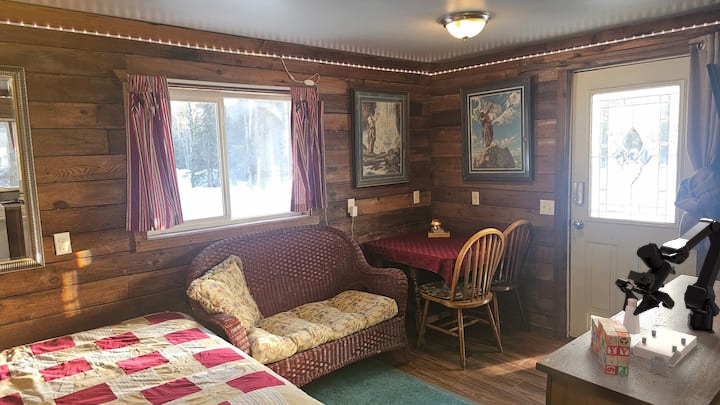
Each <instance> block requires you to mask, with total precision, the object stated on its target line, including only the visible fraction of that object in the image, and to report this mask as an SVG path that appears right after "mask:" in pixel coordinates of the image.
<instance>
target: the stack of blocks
mask: <svg viewBox="0 0 720 405" xmlns="http://www.w3.org/2000/svg"><path fill="white" fill-rule="evenodd" d="M590 327H591V334H590V335H591V337H590V344H591V346H592V349H593V351H594V353H595V355H596V357H597V359H598V361H599V363H600V365H601V368H602V370H603V372H604V374H605V375H611V376H622V377H628V376H629V371H630V370H629V368H630V366H629V365H630V358H631V357H630V356H631V343H632V342H631V341H632V336H631V334H629V333H628V331H627V330H626V329H625V327H624V326H623V322H621V321H620V320H619V319H618V320H616V319H615V320H614V319H612V318H605V317H602V318H601V317H591V324H590Z"/></svg>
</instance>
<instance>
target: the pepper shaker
mask: <svg viewBox="0 0 720 405" xmlns="http://www.w3.org/2000/svg"><path fill="white" fill-rule="evenodd" d="M637 307H638V300H636V299H632V298H630V299H628V305H627V306H626V309H625V312H624V315H623V316H624V317H623V322H622V325H623V326H624V327H625V329H626V330H627V331H628V333H629V335H639V334H641V327H640V326H641V325H640V314H639V315H637V316H634V315H633V313H634V311H635V309H636V308H637Z"/></svg>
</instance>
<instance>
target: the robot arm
mask: <svg viewBox="0 0 720 405" xmlns="http://www.w3.org/2000/svg"><path fill="white" fill-rule="evenodd" d="M706 238H708V241H709V246H708V249H707V252H706V254H705V258H704V260H703V263H702V266H701V268H700V272H699V273H698V277H697V280H696V281H695V282H694V283H693V284H688V285H687V286H686V290H685V292H684V293H683V295H684V296H683V301H684V306H685V309H686V310H689V313H688V314H687V325H688V327H689V329H691V330H692V331H694V332H695V331H696V332H702V333H703V332H704V333H715V330H714V329H713V328H714V318H715V317H717V316H718V315H720V307H719V306H718V304H717V303H716V301H715V300H716V297H717V296H716V293H715V290H714V286H715V282H717V281H716V280H717V277H718V274H719V272H720V220H716V219H710V218H700V219H699V220H698V223H697V224H695V225H694V226H693V227H692V228H690V229H689V230H688V231H686V232H685V233H684V234H682V235H681V236H680V237H679V238H677V239H675V240H670V241H668V242H667V241H666V242H665V243H663V244H662V245H661V246H659V247H658V244H656V243H655V242H652V241H650V242H649V243H648V244H644V245H642V246H640V247H638V249H637V251H636V256H637V257H638V259H640V261H641V262H642V263H643V264H644V266H645V267H646V268H648V270H647V271H642V272H639V271H636V270H632V269H630V270H629V273H628V275H627V277H626V279H624V278H621V277H619V278H617V279H616V280H615V282H614V285H615V286H616V287H617V288H618V289H619V290H620V292H621V293H623V294H625V297H624V301H623V302H624V303H623V307H622V311H623V313H625V309H626V306H627V305H628V299H630V298H632V299H636V300H637V301H639V298H638V297H637V295H641V296H642V299H641V301H640V302H639V304H637V308H636V309H635V311H634V313H633V315H634V316H637V315H639V316H640V315H641V314H643V313H645V312H647V311H650V310H652V309H656V308H660V307H661V306H660V304H661V305H662V308H665V309H667V310H673V308H674V307H675V306H676V305H675V304H676V303H675V300H674V299H673V297H671V295H670V294H669V293H668V292H665V291H661V290H660V288H661V289H664V287H665V286H666V285H665V284H664V283H665V281H666V280H667V279H668V277H669V276H670V275H673V276H676V274H677V273H676V268H675V266H674V265H671V264H675V265H682V264H683V263H684V262H686V261H687V259H688V258H689V257H690V254H691V253H690V252H691V251H692V249H693V248H695V247H696V246H698V245H699V244H700V243H701V242H702V241H704V240H705V239H706ZM631 281H633V282H632V283H631Z"/></svg>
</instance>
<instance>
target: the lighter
mask: <svg viewBox="0 0 720 405" xmlns="http://www.w3.org/2000/svg"><path fill="white" fill-rule="evenodd" d="M681 355H682V353H681V352H679V351H678V350H676V352H675V353H674V354H673V356H672V357H671V358H670V359H669V361H668V360H664V357H663V356H659V355H657V356H655V357H652V358H651V360H650V361H651V362H650V374H654V375H658V376H661V377H668V376H669V374H668V373H669V372H668V371H669V366H668V363H670V364H671V365H674V364H675V363H676V361H677V360H678V359H679V358H680V356H681Z"/></svg>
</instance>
